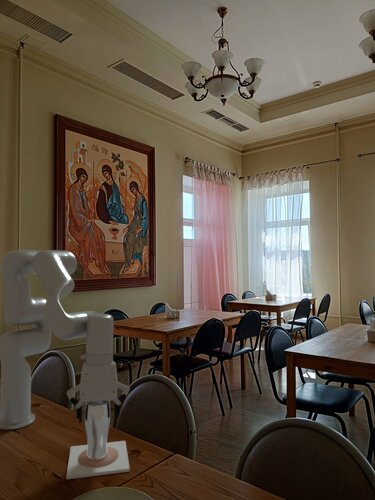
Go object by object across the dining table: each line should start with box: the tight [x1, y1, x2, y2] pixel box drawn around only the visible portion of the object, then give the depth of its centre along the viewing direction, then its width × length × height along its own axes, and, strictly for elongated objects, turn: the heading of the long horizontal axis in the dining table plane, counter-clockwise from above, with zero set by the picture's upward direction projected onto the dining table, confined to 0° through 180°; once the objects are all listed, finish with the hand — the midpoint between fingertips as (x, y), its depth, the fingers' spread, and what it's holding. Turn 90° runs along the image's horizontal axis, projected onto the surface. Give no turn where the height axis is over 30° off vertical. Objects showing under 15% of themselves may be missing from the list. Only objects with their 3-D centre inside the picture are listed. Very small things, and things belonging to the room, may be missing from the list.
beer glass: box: [84, 400, 111, 461], centre depth 106 cm, size 7×7×15 cm
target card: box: [65, 440, 131, 480], centre depth 105 cm, size 16×16×1 cm
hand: (98, 419), depth 106 cm, fingers open, 9 cm apart
